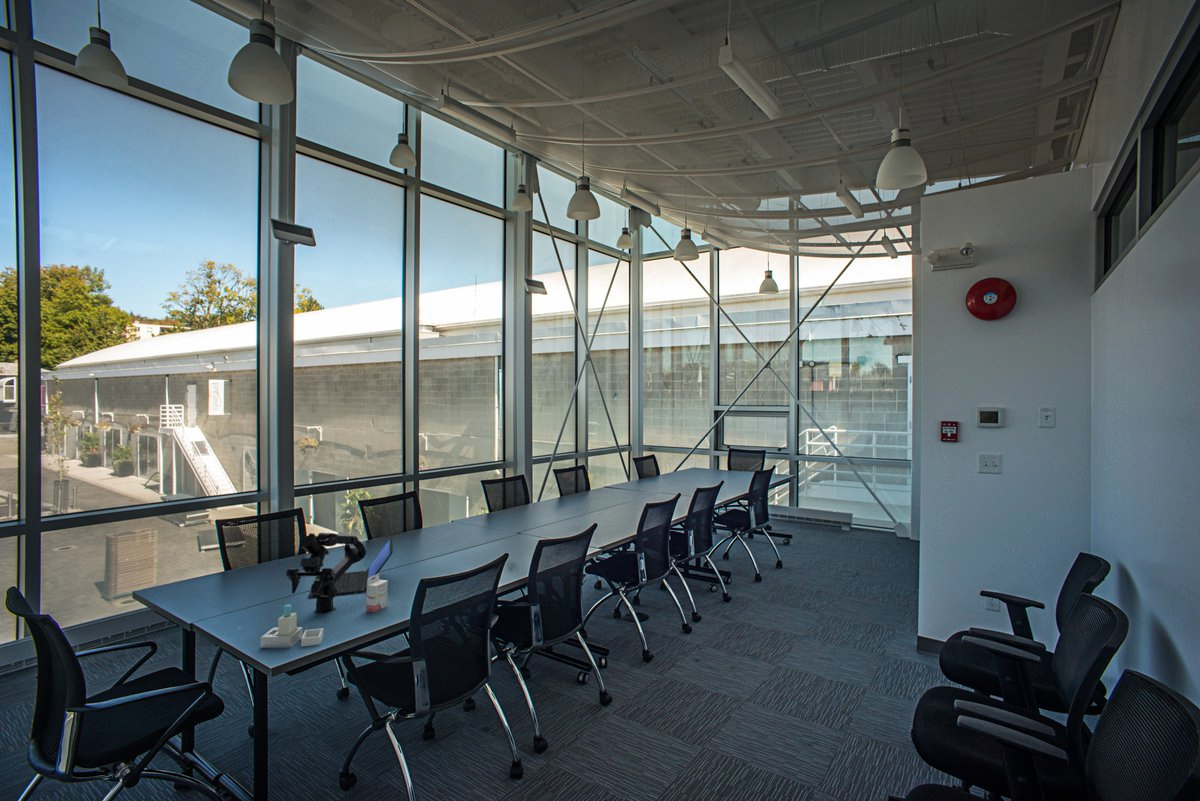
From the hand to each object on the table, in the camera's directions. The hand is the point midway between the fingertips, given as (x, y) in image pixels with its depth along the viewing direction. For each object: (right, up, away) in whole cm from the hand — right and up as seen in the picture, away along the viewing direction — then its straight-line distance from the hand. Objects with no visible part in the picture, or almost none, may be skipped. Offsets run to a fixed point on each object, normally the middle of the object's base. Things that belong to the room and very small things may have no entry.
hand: (304, 593), depth 236 cm
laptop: (-3, -14, +54) cm, 56 cm away
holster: (+11, -14, -14) cm, 23 cm away
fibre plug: (+2, -13, -16) cm, 21 cm away
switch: (0, -14, -16) cm, 21 cm away
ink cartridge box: (+22, -14, +20) cm, 33 cm away
